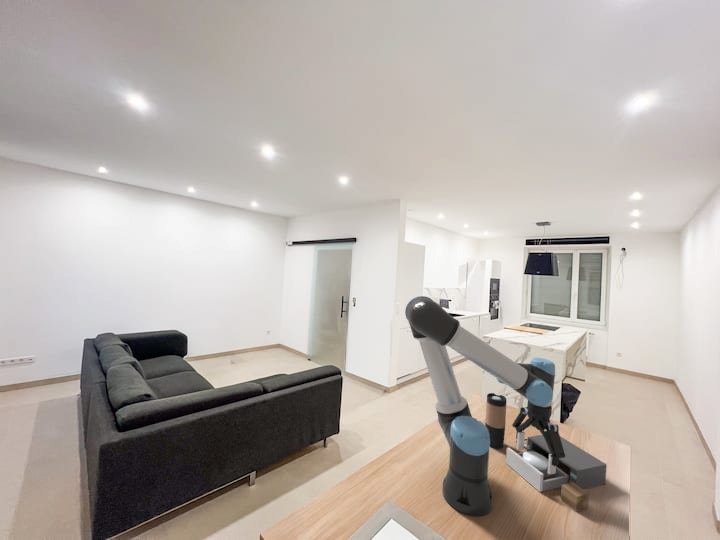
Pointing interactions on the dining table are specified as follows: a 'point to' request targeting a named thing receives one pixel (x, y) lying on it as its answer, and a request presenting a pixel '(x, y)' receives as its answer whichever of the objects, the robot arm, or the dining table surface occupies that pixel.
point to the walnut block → (574, 496)
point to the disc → (536, 460)
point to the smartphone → (542, 455)
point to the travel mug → (496, 419)
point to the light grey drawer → (535, 472)
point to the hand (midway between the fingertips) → (534, 460)
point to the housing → (574, 462)
